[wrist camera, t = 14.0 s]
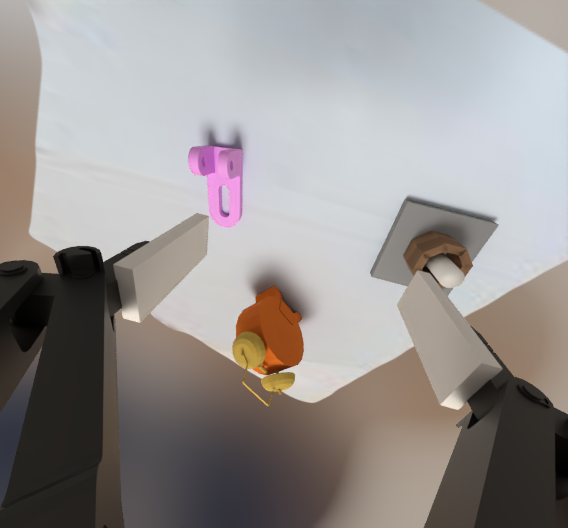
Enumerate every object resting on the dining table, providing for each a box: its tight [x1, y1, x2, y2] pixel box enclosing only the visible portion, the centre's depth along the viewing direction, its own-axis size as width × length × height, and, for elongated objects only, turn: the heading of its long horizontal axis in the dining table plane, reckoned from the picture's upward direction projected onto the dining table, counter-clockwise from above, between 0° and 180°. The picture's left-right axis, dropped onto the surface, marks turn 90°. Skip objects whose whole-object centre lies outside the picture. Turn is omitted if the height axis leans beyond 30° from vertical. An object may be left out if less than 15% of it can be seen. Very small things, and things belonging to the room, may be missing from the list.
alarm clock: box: [233, 286, 304, 406], centre depth 43 cm, size 13×6×20 cm, turn 37°
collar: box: [403, 231, 473, 289], centre depth 37 cm, size 7×7×5 cm
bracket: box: [188, 145, 242, 227], centre depth 38 cm, size 13×6×7 cm, turn 175°
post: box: [370, 200, 498, 296], centre depth 36 cm, size 14×14×10 cm
